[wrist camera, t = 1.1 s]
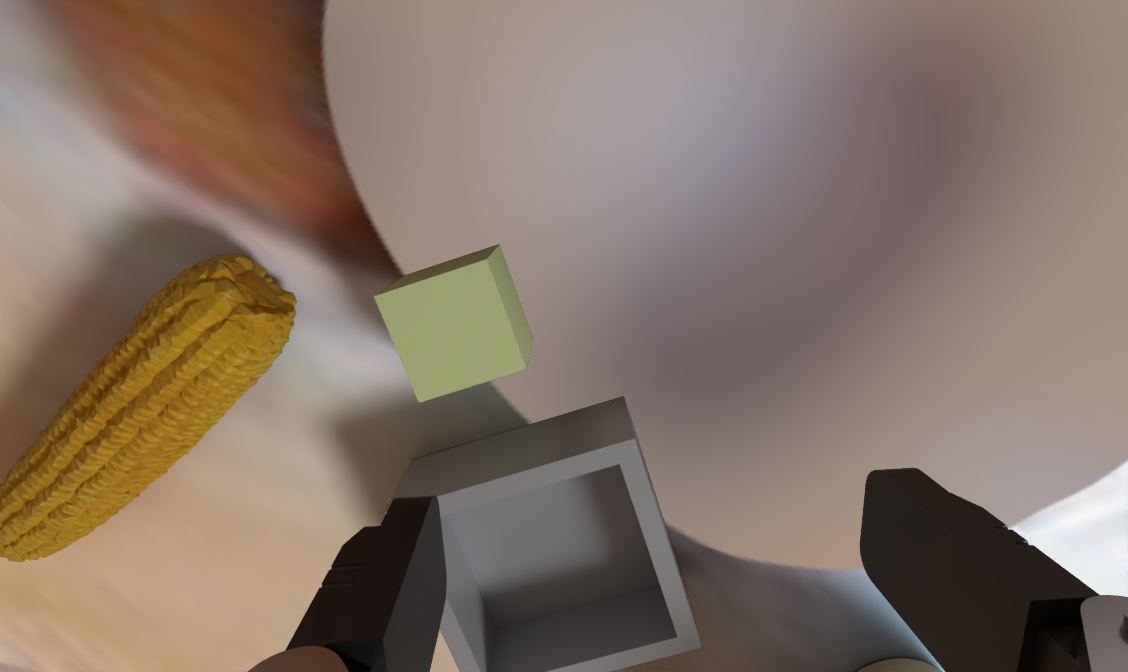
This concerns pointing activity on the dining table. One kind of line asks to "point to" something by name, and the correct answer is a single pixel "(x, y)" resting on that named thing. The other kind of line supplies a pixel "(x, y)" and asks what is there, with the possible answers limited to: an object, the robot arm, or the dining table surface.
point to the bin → (555, 548)
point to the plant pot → (900, 666)
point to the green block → (457, 323)
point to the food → (145, 403)
